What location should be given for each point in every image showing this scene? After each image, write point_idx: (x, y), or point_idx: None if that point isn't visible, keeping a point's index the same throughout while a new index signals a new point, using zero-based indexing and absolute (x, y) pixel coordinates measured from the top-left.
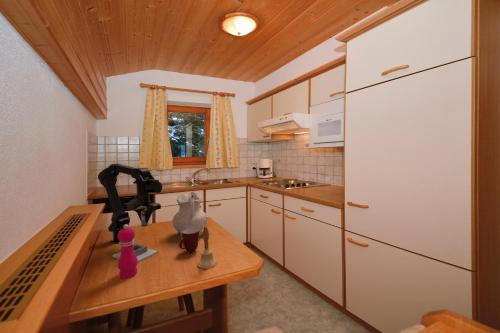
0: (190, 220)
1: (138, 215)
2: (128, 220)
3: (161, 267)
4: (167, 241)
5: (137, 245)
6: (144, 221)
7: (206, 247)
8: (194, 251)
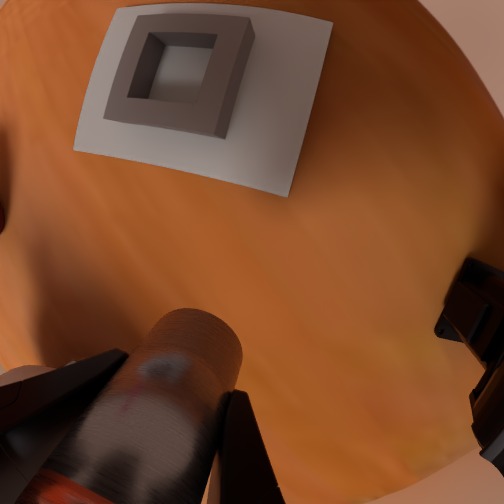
0: None
1: (271, 498)
2: (488, 427)
3: (27, 53)
4: (138, 328)
5: (184, 107)
6: (127, 358)
7: None
8: None
